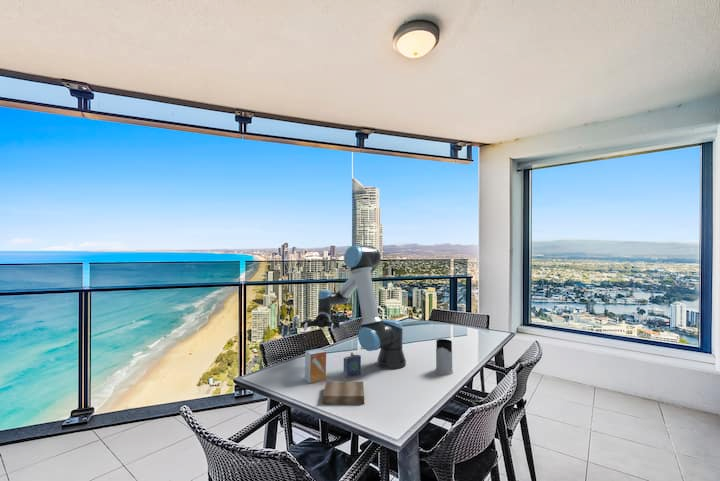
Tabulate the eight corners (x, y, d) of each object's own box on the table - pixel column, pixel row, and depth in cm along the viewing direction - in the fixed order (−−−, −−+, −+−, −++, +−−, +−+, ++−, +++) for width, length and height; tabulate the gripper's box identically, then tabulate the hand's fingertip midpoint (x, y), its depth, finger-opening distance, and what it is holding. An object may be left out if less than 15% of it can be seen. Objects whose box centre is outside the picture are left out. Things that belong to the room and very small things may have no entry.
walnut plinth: (363, 388, 133) (363, 381, 133) (364, 404, 119) (364, 396, 119) (326, 388, 132) (326, 381, 133) (322, 403, 118) (322, 396, 119)
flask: (344, 378, 144) (345, 355, 145) (341, 376, 147) (342, 353, 147) (361, 374, 149) (361, 352, 149) (358, 372, 151) (358, 350, 152)
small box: (310, 383, 137) (310, 354, 138) (304, 379, 143) (304, 350, 143) (326, 380, 142) (326, 351, 143) (320, 375, 147) (320, 347, 148)
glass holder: (433, 372, 152) (433, 341, 153) (440, 364, 165) (439, 335, 166) (451, 375, 148) (451, 344, 149) (456, 366, 161) (456, 337, 162)
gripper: (344, 326, 175) (343, 336, 153) (300, 326, 174) (293, 335, 153) (344, 313, 175) (343, 321, 154) (300, 312, 174) (293, 320, 153)
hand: (318, 328), depth 153 cm, fingers open, 13 cm apart
